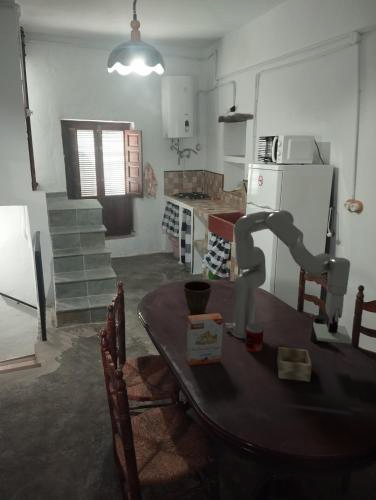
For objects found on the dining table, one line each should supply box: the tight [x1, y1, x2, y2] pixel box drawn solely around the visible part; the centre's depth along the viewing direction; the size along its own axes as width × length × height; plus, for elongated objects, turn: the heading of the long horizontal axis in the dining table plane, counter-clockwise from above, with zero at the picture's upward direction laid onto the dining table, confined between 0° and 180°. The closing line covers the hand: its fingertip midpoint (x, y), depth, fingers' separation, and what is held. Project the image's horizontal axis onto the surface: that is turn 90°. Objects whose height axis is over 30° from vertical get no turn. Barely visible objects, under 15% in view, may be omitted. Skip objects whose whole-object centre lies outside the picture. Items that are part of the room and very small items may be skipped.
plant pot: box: [183, 280, 212, 315], centre depth 210 cm, size 15×15×16 cm
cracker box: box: [186, 312, 224, 367], centre depth 163 cm, size 14×6×21 cm, turn 104°
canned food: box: [244, 323, 264, 353], centre depth 174 cm, size 8×8×11 cm
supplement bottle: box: [309, 314, 326, 344], centre depth 183 cm, size 7×7×12 cm
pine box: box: [276, 346, 313, 382], centre depth 157 cm, size 12×12×8 cm
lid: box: [313, 315, 353, 344], centre depth 159 cm, size 13×13×8 cm
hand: (331, 329), depth 159 cm, fingers closed on lid, 3 cm apart
